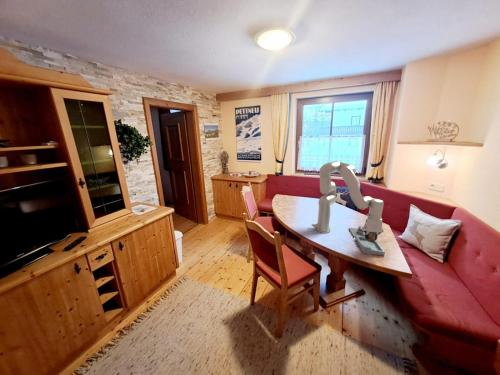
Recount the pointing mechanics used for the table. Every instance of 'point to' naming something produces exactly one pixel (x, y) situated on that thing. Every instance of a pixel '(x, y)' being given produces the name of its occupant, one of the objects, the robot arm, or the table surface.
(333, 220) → the table surface
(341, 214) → the table surface
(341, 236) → the table surface
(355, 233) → the crank base
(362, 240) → the tray
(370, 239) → the block
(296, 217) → the table surface
